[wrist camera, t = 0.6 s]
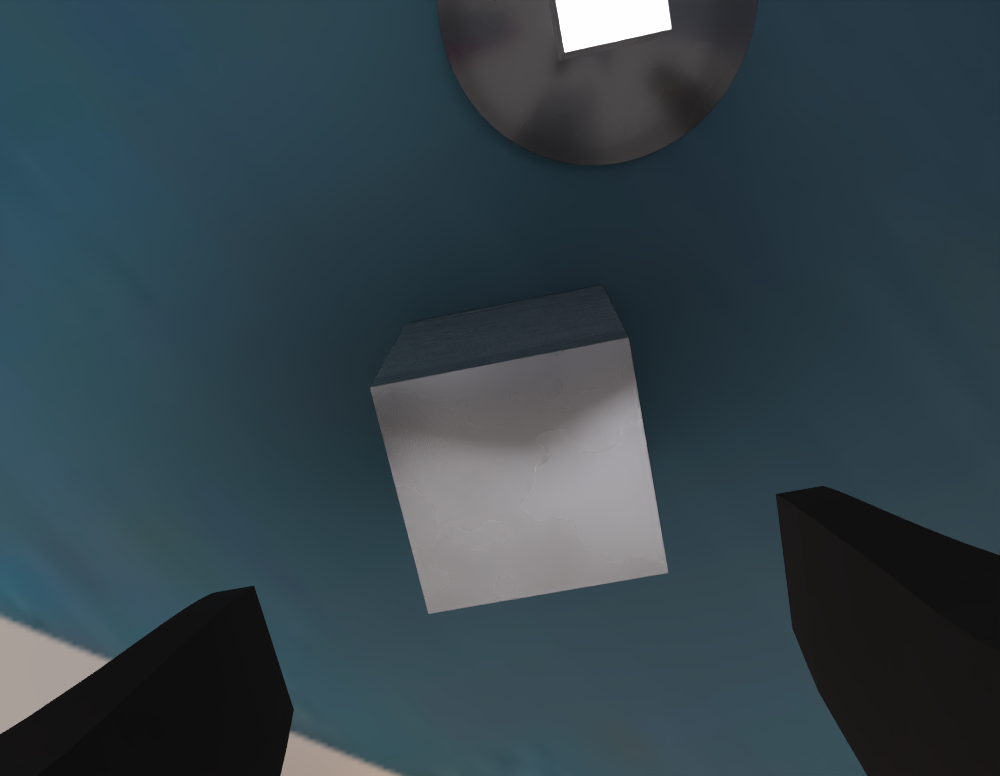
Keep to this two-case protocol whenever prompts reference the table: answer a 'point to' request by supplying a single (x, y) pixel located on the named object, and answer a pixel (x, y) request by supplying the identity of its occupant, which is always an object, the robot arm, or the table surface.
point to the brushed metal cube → (519, 450)
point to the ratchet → (595, 69)
